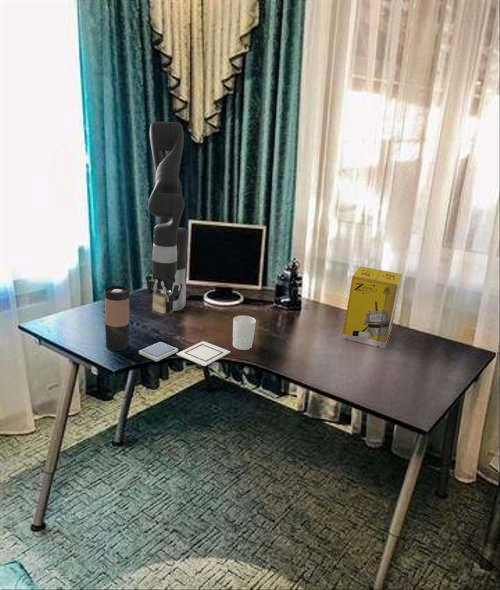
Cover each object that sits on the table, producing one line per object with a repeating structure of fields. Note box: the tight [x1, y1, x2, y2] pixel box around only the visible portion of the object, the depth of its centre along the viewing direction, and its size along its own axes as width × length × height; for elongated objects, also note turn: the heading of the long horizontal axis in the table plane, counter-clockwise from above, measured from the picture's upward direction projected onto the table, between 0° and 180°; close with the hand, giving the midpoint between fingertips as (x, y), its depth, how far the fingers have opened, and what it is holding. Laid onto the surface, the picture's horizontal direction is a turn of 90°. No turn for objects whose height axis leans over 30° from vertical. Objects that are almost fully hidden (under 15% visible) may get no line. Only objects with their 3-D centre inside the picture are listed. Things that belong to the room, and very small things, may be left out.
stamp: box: [151, 291, 174, 317], centre depth 155 cm, size 5×5×6 cm
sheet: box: [175, 340, 231, 367], centre depth 163 cm, size 14×12×1 cm
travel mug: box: [104, 285, 130, 352], centre depth 159 cm, size 8×8×20 cm
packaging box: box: [342, 266, 404, 344], centre depth 186 cm, size 16×16×25 cm
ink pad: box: [138, 341, 179, 363], centre depth 161 cm, size 10×8×1 cm
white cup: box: [232, 315, 257, 351], centre depth 170 cm, size 8×8×10 cm
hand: (162, 309), depth 156 cm, fingers closed on stamp, 4 cm apart
